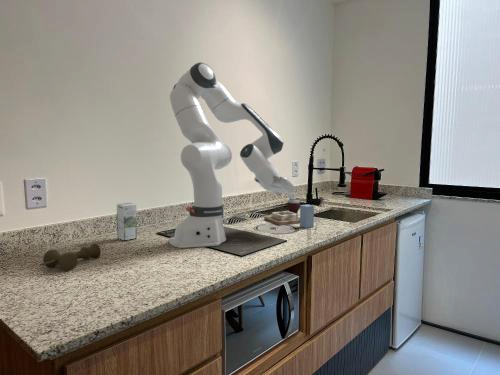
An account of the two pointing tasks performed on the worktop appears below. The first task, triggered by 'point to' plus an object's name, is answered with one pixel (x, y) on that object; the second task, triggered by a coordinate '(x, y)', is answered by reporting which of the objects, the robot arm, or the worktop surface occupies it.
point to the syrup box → (126, 221)
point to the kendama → (70, 257)
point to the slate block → (306, 216)
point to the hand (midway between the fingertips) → (286, 196)
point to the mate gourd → (293, 205)
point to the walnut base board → (283, 218)
